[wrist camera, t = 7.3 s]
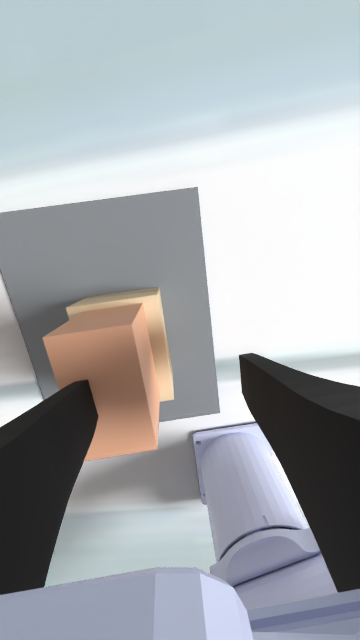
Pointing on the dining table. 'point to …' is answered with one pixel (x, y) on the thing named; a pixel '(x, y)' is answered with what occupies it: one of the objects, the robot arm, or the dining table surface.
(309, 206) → the dining table surface
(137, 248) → the build plate
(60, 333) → the terracotta brick
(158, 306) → the oak brick
